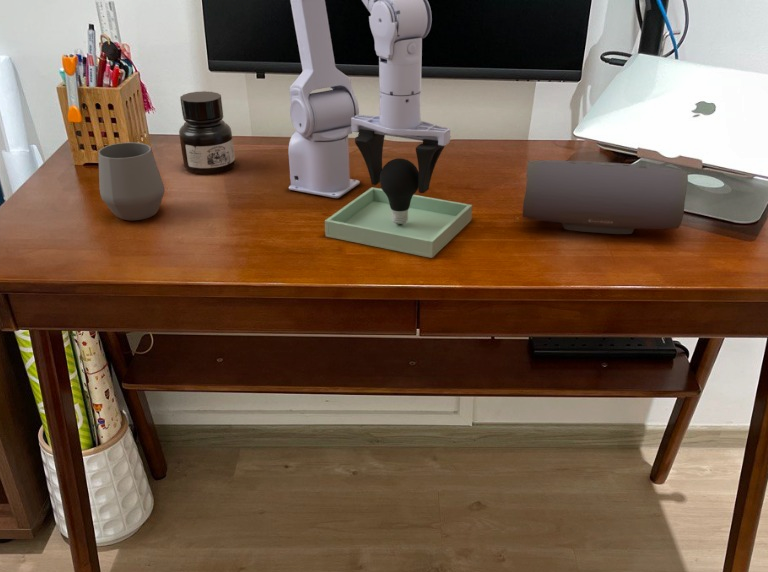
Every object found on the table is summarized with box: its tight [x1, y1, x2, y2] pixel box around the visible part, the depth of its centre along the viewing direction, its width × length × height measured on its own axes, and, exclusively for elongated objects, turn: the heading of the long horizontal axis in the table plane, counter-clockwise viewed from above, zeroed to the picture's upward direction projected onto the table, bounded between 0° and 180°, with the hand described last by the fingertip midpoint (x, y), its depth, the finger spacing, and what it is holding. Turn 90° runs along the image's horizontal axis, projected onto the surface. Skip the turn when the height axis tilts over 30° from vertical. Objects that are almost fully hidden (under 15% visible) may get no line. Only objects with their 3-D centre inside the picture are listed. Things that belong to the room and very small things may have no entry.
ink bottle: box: [178, 90, 236, 175], centre depth 143 cm, size 10×9×12 cm
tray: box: [324, 187, 473, 259], centre depth 124 cm, size 17×15×2 cm
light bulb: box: [379, 157, 419, 226], centre depth 122 cm, size 6×6×10 cm
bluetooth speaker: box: [522, 159, 689, 235], centre depth 123 cm, size 23×9×10 cm, turn 80°
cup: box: [97, 141, 165, 222], centre depth 125 cm, size 10×9×10 cm
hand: (399, 186), depth 121 cm, fingers open, 7 cm apart
